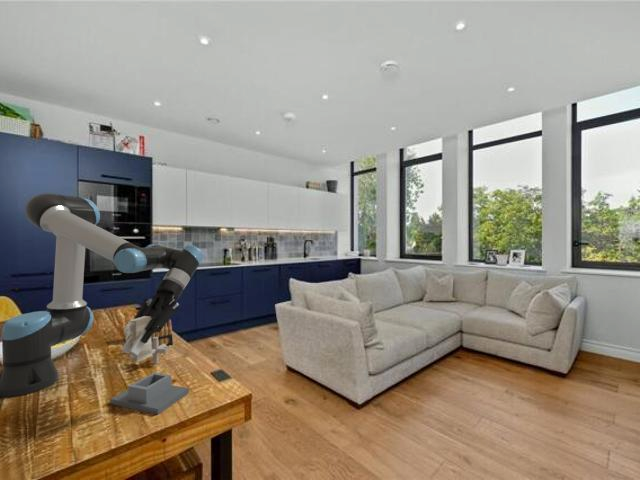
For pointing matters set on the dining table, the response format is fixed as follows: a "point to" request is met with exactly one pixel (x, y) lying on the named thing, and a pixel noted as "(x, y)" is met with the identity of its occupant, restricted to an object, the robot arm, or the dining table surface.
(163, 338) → the ammunition clip
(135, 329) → the slat
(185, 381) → the dining table surface
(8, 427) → the dining table surface
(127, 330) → the penguin figurine
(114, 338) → the dining table surface
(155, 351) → the pipe connector
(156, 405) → the rectangular socket base
